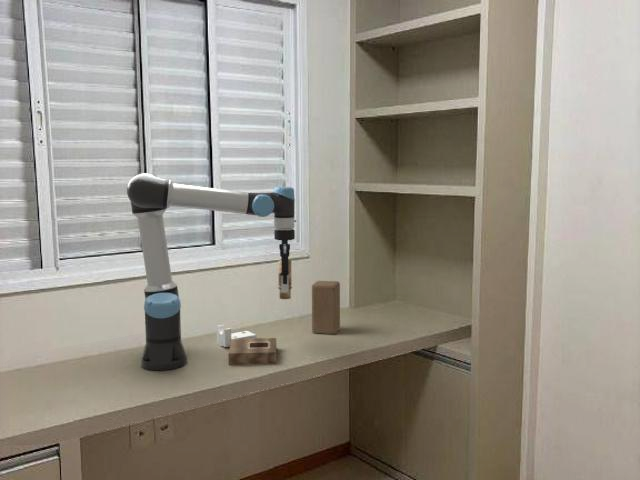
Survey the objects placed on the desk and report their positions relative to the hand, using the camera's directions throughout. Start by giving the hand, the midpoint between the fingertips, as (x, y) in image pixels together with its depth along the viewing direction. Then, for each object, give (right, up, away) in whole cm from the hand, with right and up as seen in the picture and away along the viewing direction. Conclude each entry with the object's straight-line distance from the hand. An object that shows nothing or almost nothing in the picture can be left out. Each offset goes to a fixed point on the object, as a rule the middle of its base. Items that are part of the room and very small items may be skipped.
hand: (284, 290), depth 233 cm
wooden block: (+16, -18, +21) cm, 32 cm away
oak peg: (0, -3, 0) cm, 3 cm away
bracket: (-18, -21, +3) cm, 28 cm away
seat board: (-10, -22, -13) cm, 28 cm away
